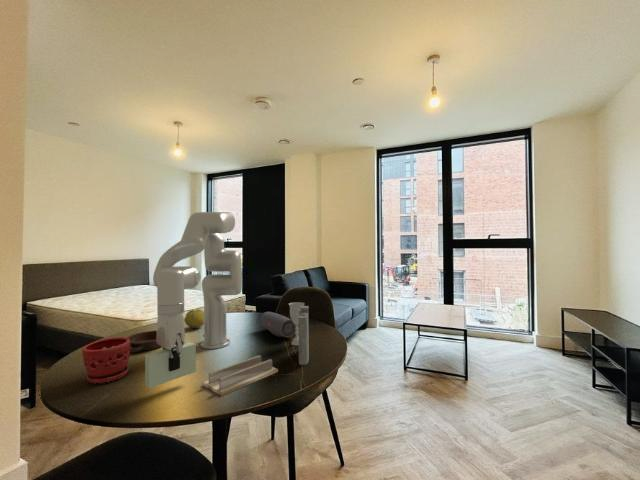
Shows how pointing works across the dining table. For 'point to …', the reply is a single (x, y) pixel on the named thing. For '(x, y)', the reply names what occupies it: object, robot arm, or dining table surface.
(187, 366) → the door panel
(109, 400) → the dining table surface
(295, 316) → the chalice
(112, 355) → the plant pot
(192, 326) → the fruit
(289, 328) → the bluetooth speaker
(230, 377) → the track
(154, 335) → the dish
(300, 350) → the hip flask
